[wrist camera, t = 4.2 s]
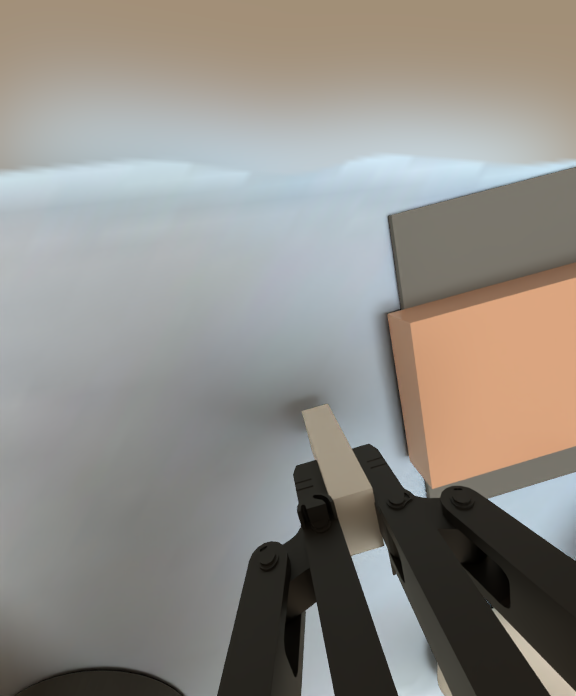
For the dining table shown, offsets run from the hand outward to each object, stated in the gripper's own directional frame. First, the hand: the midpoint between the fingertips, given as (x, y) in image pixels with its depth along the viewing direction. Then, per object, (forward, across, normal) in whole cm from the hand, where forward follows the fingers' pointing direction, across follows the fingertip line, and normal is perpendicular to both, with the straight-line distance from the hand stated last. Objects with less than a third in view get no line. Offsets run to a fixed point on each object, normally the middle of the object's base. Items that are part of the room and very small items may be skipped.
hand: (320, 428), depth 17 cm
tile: (+1, +12, 0) cm, 12 cm away
